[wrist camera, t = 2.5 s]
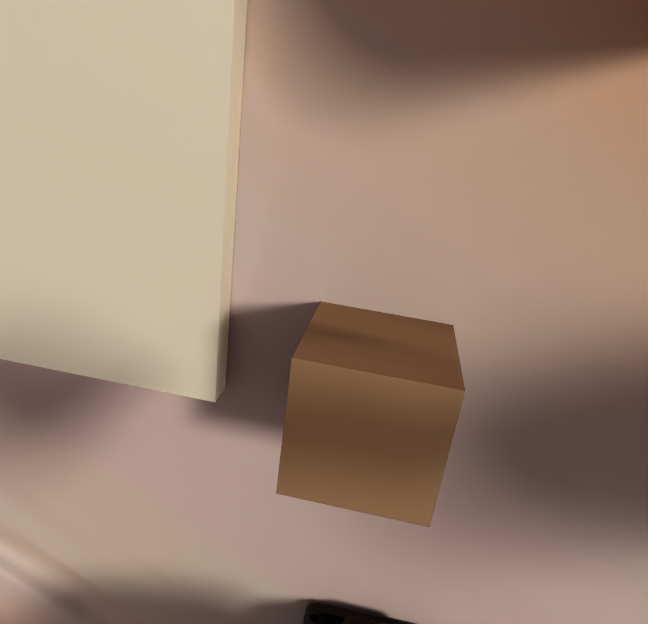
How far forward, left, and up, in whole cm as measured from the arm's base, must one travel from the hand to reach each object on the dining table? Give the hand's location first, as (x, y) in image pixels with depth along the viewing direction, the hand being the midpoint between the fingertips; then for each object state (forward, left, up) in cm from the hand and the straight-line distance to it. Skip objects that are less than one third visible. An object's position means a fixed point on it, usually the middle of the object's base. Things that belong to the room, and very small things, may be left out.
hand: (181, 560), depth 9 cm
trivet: (+4, +9, -12) cm, 15 cm away
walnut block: (-2, -3, -12) cm, 12 cm away
